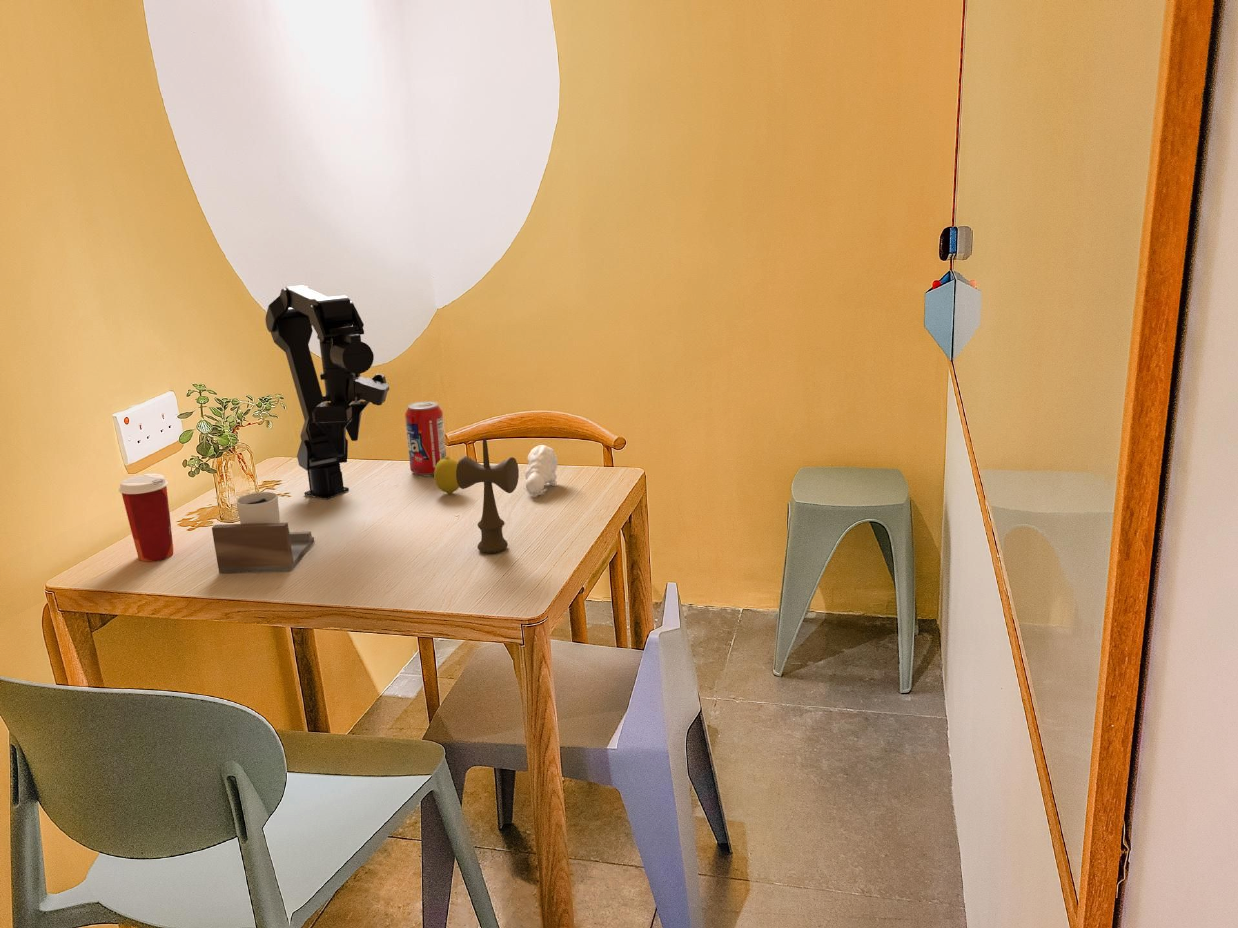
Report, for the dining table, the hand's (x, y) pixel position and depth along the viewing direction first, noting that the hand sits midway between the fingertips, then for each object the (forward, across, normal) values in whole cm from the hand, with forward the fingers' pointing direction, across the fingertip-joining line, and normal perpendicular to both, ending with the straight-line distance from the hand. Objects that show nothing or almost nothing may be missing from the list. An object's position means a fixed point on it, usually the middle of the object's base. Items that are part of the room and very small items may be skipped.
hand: (348, 447), depth 189 cm
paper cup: (+13, -20, +30) cm, 38 cm away
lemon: (+13, +9, -17) cm, 23 cm away
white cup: (+12, -23, +10) cm, 28 cm away
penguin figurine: (+13, +10, -35) cm, 38 cm away
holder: (+13, -22, +9) cm, 27 cm away
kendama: (+13, -21, -29) cm, 39 cm away
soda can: (+13, +25, -9) cm, 29 cm away
